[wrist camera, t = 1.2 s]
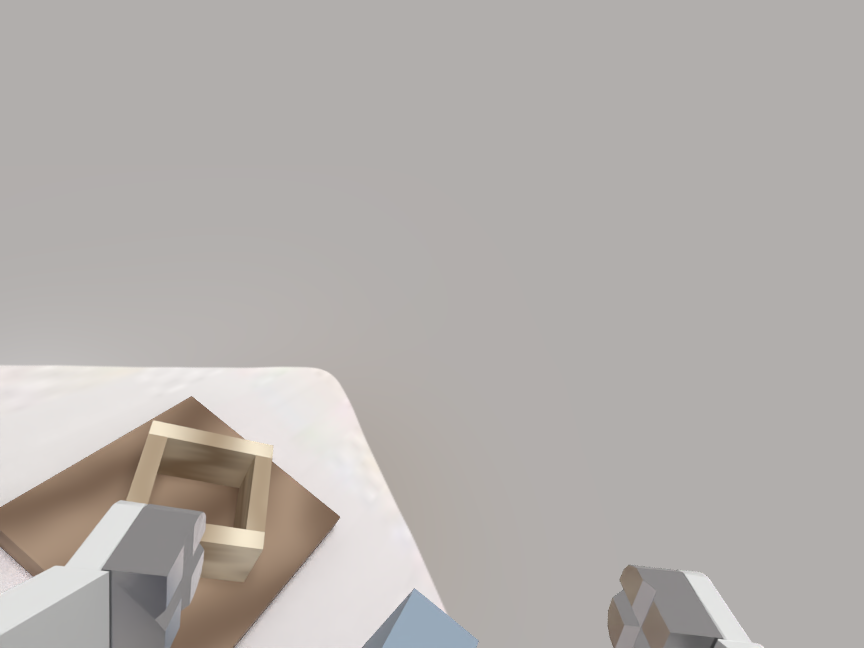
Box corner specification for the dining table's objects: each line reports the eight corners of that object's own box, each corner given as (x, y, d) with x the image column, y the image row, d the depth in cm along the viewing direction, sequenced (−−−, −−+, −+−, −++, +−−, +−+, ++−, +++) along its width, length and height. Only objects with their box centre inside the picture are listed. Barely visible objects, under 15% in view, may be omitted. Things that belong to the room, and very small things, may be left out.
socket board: (-17, 530, 33) (-10, 474, 30) (187, 408, 47) (204, 362, 44) (181, 711, 31) (207, 668, 28) (333, 527, 45) (360, 487, 42)
